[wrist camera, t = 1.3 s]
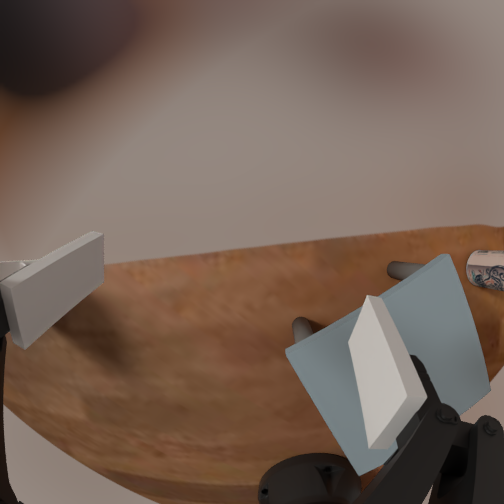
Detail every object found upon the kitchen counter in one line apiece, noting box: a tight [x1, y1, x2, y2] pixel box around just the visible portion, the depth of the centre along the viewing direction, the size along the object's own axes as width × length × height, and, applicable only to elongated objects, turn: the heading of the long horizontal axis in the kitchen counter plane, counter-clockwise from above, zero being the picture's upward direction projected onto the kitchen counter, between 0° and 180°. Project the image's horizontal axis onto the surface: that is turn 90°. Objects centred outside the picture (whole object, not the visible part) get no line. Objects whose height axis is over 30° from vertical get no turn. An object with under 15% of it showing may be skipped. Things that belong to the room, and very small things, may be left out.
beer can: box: [466, 250, 504, 291], centre depth 27 cm, size 5×5×12 cm
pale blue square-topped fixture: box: [285, 254, 491, 476], centre depth 28 cm, size 16×16×12 cm
